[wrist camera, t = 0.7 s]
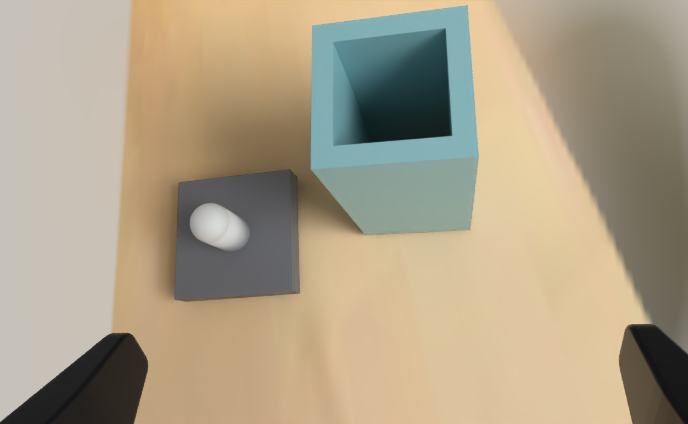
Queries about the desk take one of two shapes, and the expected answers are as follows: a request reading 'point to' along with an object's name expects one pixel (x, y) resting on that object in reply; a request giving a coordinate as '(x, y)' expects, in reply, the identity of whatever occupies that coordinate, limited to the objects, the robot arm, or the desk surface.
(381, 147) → the teal sleeve
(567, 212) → the desk surface
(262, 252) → the dark grey square plate
